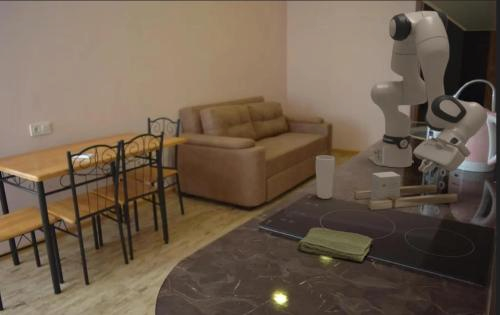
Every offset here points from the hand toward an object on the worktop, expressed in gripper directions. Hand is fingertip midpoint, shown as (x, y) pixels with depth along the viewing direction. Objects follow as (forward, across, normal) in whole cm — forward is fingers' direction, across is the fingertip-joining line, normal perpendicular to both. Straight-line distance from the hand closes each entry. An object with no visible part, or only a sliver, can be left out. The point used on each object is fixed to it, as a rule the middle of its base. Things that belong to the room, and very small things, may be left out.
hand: (421, 171), depth 141 cm
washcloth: (+38, +30, -25) cm, 55 cm away
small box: (+18, +2, -3) cm, 18 cm away
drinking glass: (+30, -9, -16) cm, 35 cm away
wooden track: (+12, +1, +2) cm, 12 cm away
